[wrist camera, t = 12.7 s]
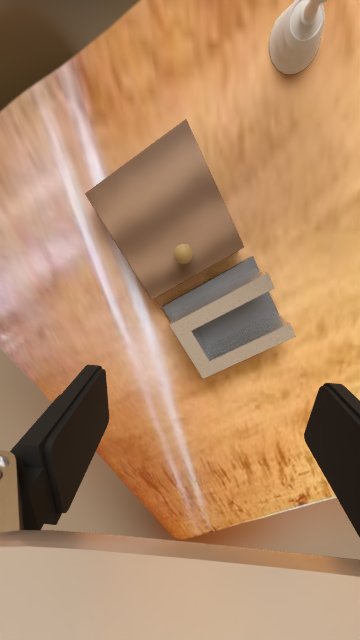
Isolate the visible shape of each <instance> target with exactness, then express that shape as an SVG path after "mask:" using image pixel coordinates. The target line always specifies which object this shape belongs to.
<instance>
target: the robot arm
mask: <svg viewBox="0 0 360 640" xmlns="http://www.w3.org/2000/svg"><path fill="white" fill-rule="evenodd" d="M108 422H109V409H108V396H107V383H106V371H105V370H104V369H102V367H101V366H97V365H87V366H85V368H84V369H83V370H82V371H81V372H80V373H79V374H78V376H77V377H76V378H75V379H74V380H73V381H72V383H71V384H70V385H69V386H68V387H67V388H66V390H65V391H64V392H63V393H62V394H61V395H59V396H58V397H57V398H56V399H55V400H54V402H53V403H52V404H51V405H50V406H49V407H48V409H47V410H46V411H45V412H44V413H43V414H42V415H41V417H40V418H39V419H38V420H37V421H36V422H35V423H34V425H33V426H32V427H31V428H30V429H29V430H28V431H27V433H26V434H25V435H24V436H23V437H22V438H21V439H20V441H19V442H18V443H17V444H16V445H15V446H14V448H13V449H12V450H11V451H5V450H1V451H0V640H360V560H357V559H347V558H339V557H330V556H319V555H311V554H301V553H292V552H282V551H272V550H262V549H252V548H243V547H232V546H223V545H213V544H203V543H192V542H182V541H172V540H160V539H151V538H140V537H130V536H118V535H109V534H94V533H81V532H68V531H54V530H41V528H42V526H43V524H52V525H56V524H57V522H58V520H59V518H60V516H61V514H62V513H66V512H67V511H68V509H69V507H70V505H71V503H72V501H73V499H74V497H75V494H76V492H77V490H78V488H79V485H80V483H81V481H82V479H83V477H84V475H85V473H86V471H87V469H88V466H89V464H90V462H91V460H92V458H93V456H94V453H95V451H96V449H97V447H98V445H99V443H100V441H101V438H102V436H103V434H104V432H105V430H106V428H107V425H108ZM304 438H305V442H306V444H307V446H308V447H309V449H310V451H311V453H312V454H313V456H314V458H315V460H316V461H317V463H318V465H319V467H320V468H321V470H322V472H323V474H324V475H325V477H326V479H327V481H328V483H329V484H330V486H331V488H332V490H333V491H334V493H335V495H336V497H337V498H338V500H339V502H340V504H341V505H342V507H343V509H344V511H345V512H346V514H347V516H348V518H349V519H350V521H351V523H352V525H353V526H354V528H355V530H356V532H357V534H358V535H359V537H360V401H359V400H358V399H357V398H356V397H355V396H354V395H353V394H352V393H351V392H350V391H349V390H348V389H347V388H346V387H345V386H343V385H342V384H334V383H325V384H324V385H323V386H321V387H320V388H319V391H318V394H317V397H316V400H315V403H314V406H313V409H312V412H311V415H310V418H309V421H308V424H307V427H306V430H305V433H304Z"/></svg>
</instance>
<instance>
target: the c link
mask: <svg viewBox="0 0 360 640" xmlns="http://www.w3.org/2000/svg"><path fill="white" fill-rule="evenodd" d="M272 289H274V286H273V283H272V281H271V279H270V277H269V274H268V273H267V272H264V271H262V270H259V269H254V270H252V271H250V272H248V273H247V274H245V275H243V276H241V277H239V278H237V279H235V280H234V281H232V282H230V283H228V284H226V285H224V286H222V287H221V288H219V289H217V290H215V291H213V292H211V293H209V294H208V295H206V296H204V297H202V298H200V299H198V300H197V301H195V302H193V303H191V304H189V305H187V306H185V307H184V308H182V309H180V310H178V311H176V312H174V313H172V315H171V320H170V324H169V325H170V327H171V329H172V330H173V332H174V333H175V335H176V337H177V338H178V340H179V341H180V343H181V345H182V346H183V348H184V349H185V351H186V353H187V354H188V356H189V357H190V359H191V360H192V362H193V364H194V365H195V367H196V368H197V370H198V372H199V373H200V375H201V376H202V378H203V379H204V378H206V377H208V376H210V375H213V374H215V373H217V372H219V371H221V370H223V369H226V368H228V367H230V366H232V365H234V364H237V363H239V362H241V361H243V360H245V359H248V358H250V357H252V356H254V355H256V354H259V353H261V352H263V351H265V350H267V349H270V348H272V347H274V346H276V345H278V344H281V343H283V342H285V341H287V340H289V339H292V338H294V337H296V336H295V334H294V332H293V329H292V327H291V325H290V323H289V322H287V321H286V320H285V319H284V318H282V317H281V316H280V315H279V314H277V313H276V312H275V313H273V314H271V315H269V316H267V317H265V318H263V319H261V320H259V321H257V322H255V323H253V324H251V325H249V326H247V327H244V328H242V329H240V330H238V331H236V332H234V333H232V334H230V335H228V336H226V337H224V338H222V339H220V340H218V341H216V342H214V343H212V344H210V345H208V346H206V344H205V342H204V341H203V339H202V337H201V336H200V334H199V332H198V331H197V329H196V328H198V327H200V326H202V325H204V324H205V323H207V322H209V321H211V320H213V319H215V318H217V317H219V316H221V315H223V314H225V313H227V312H229V311H231V310H233V309H235V308H237V307H239V306H241V305H243V304H245V303H247V302H248V301H250V300H252V299H254V298H256V297H258V296H260V295H262V294H264V293H266V292H268V291H270V290H272Z"/></svg>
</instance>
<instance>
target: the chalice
mask: <svg viewBox="0 0 360 640" xmlns="http://www.w3.org/2000/svg"><path fill="white" fill-rule="evenodd" d="M325 1H327V0H295V1H294V2H293V3H292V5H290V6H289V7H288V8H287V9H286V10H285V11H284V12H282V14H281V15H280V16H279V18H278V19H277V20H276V22H275V24H274V26H273V29H272V31H271V35H270V40H269V53H270V57H271V60H272V63H273V64H274V66H275V67H276V69H277V70H279V71H280V72H282V73H284V74H295V73H299V72H300V71H302V70H303V69H305V68H306V67H307V66H308V65H309V64H310V63H311V61H312V60H313V59H314V57H315V55H316V53H317V51H318V48H319V44H320V40H321V35H322V31H323V26H324V17H325V13H324V9H323V5H322V3H323V2H325Z"/></svg>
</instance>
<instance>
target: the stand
mask: <svg viewBox="0 0 360 640" xmlns="http://www.w3.org/2000/svg"><path fill="white" fill-rule="evenodd" d="M85 195H86V196H87V198H88V199H89V201H90V203H91V204H92V206H93V207H94V209H95V211H96V212H97V214H98V215H99V217H100V218H101V220H102V222H103V223H104V225H105V226H106V228H107V230H108V231H109V233H110V234H111V236H112V237H113V239H114V241H115V242H116V244H117V245H118V247H119V249H120V250H121V252H122V253H123V255H124V256H125V258H126V260H127V261H128V263H129V264H130V266H131V268H132V269H133V271H134V272H135V274H136V275H137V277H138V279H139V280H140V282H141V283H142V285H143V287H144V288H145V290H146V291H147V293H148V294H149V296H150V298H151V299H154V298H156V297H157V296H159V295H161V294H163V293H164V292H166V291H168V290H170V289H171V288H173V287H175V286H177V285H178V284H180V283H182V282H184V281H185V280H187V279H189V278H191V277H192V276H194V275H196V274H198V273H200V272H201V271H203V270H205V269H207V268H208V267H210V266H212V265H214V264H215V263H217V262H219V261H221V260H222V259H224V258H226V257H228V256H229V255H231V254H233V253H235V252H236V251H238V250H240V249H242V248H244V246H243V243H242V241H241V239H240V237H239V234H238V232H237V230H236V228H235V226H234V223H233V221H232V219H231V217H230V215H229V212H228V210H227V208H226V206H225V204H224V201H223V199H222V197H221V195H220V193H219V190H218V188H217V186H216V184H215V182H214V179H213V177H212V175H211V173H210V171H209V168H208V166H207V164H206V162H205V160H204V157H203V155H202V153H201V151H200V149H199V146H198V144H197V142H196V140H195V138H194V135H193V133H192V131H191V129H190V127H189V124H188V122H187V120H186V119H185V120H184V121H183V122H181V123H180V124H179V125H177V126H176V127H175V128H173V129H172V130H171V131H169V132H168V133H166V134H165V135H164V136H162V137H161V138H160V139H158V140H157V141H156V142H154V143H153V144H152V145H150V146H149V147H148V148H146V149H145V150H143V151H142V152H141V153H139V154H138V155H137V156H135V157H134V158H133V159H131V160H130V161H129V162H127V163H126V164H124V165H123V166H122V167H120V168H119V169H118V170H116V171H115V172H114V173H112V174H111V175H110V176H108V177H107V178H106V179H104V180H103V181H101V182H100V183H99V184H97V185H96V186H95V187H93V188H92V189H91V190H89V191H88V192H87V193H85Z"/></svg>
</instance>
